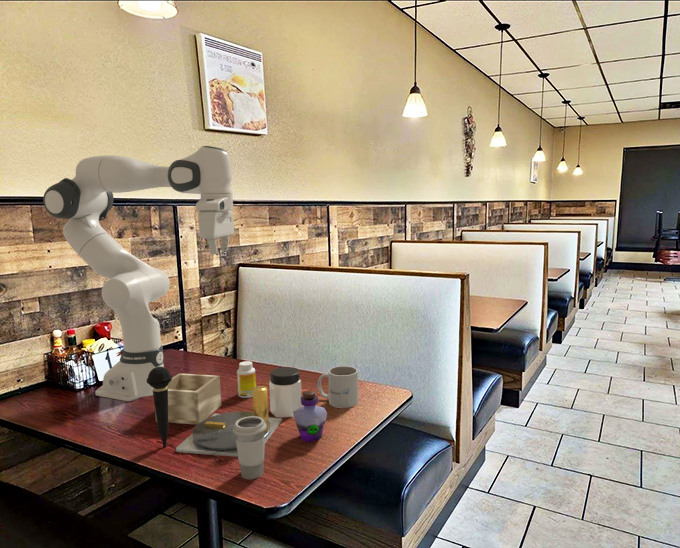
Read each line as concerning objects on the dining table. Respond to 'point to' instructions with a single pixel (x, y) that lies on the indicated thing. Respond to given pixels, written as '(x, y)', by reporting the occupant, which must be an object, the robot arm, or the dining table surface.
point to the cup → (250, 445)
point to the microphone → (160, 398)
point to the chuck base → (192, 447)
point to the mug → (341, 386)
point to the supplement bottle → (246, 379)
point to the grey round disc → (230, 424)
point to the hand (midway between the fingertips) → (219, 252)
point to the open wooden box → (192, 398)
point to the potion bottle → (310, 417)
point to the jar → (285, 391)
